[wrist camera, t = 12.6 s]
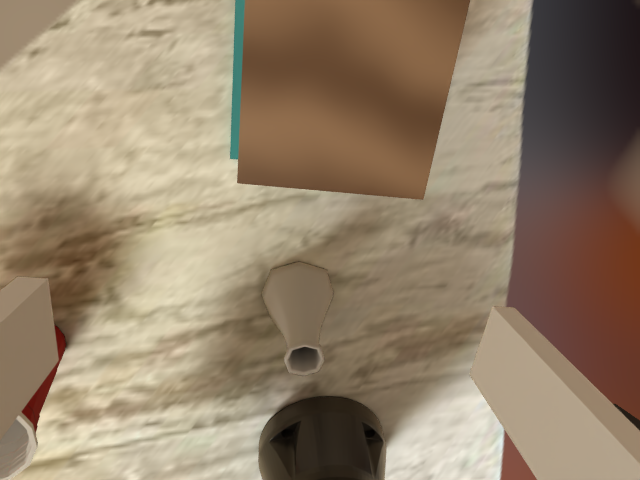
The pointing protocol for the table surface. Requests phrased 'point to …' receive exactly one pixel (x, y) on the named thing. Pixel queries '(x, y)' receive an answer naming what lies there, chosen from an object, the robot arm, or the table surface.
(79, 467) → the table surface
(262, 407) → the table surface
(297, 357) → the flask
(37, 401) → the plastic cup
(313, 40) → the brown wooden box frame
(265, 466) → the robot arm
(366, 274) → the table surface
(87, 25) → the table surface
